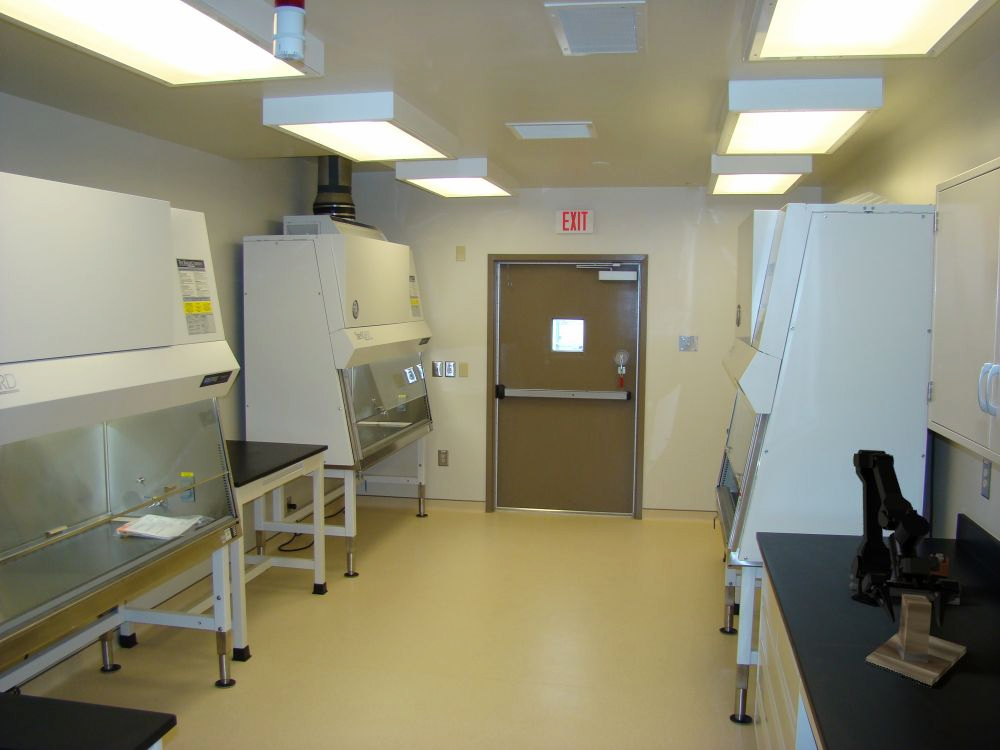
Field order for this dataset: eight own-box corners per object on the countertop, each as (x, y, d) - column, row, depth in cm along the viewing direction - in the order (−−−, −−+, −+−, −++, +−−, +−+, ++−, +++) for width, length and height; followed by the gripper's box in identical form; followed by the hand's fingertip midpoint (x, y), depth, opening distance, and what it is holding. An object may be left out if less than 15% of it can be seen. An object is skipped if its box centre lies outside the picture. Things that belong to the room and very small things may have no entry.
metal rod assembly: (957, 603, 196) (959, 585, 196) (959, 608, 194) (961, 589, 193) (848, 588, 206) (850, 570, 205) (849, 591, 203) (850, 574, 202)
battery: (927, 593, 202) (929, 557, 201) (927, 585, 208) (930, 550, 206) (945, 597, 200) (948, 561, 198) (946, 589, 205) (949, 553, 204)
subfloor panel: (903, 633, 178) (904, 627, 178) (965, 653, 169) (966, 647, 168) (865, 664, 163) (866, 657, 163) (931, 687, 154) (932, 680, 154)
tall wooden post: (896, 650, 167) (901, 593, 165) (920, 652, 166) (925, 595, 164) (903, 660, 162) (908, 602, 160) (927, 663, 161) (932, 604, 159)
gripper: (868, 537, 167) (879, 605, 157) (962, 544, 163) (978, 614, 153) (857, 559, 175) (866, 625, 166) (945, 566, 171) (960, 634, 162)
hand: (916, 624), depth 161 cm, fingers open, 9 cm apart
